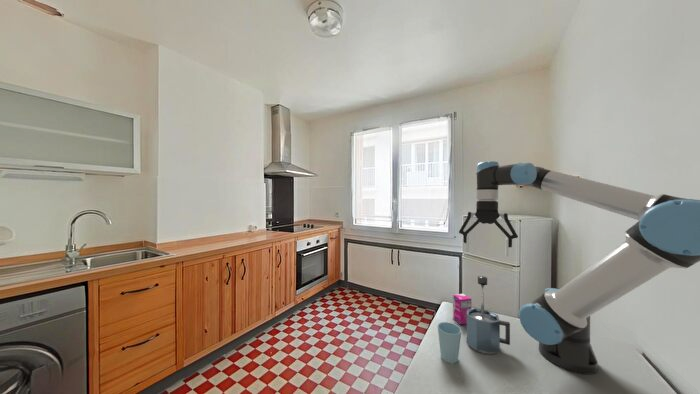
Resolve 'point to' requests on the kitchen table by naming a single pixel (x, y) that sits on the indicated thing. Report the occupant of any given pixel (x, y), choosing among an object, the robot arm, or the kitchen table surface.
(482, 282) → the plunger
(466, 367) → the kitchen table surface
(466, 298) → the supplement box
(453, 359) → the cup
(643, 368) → the kitchen table surface
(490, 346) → the press carafe
